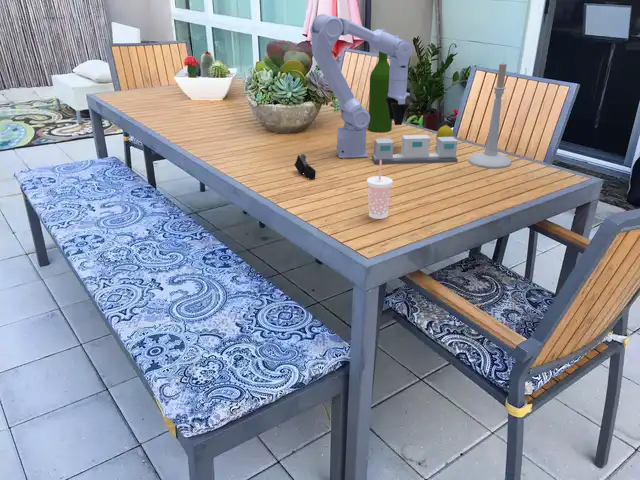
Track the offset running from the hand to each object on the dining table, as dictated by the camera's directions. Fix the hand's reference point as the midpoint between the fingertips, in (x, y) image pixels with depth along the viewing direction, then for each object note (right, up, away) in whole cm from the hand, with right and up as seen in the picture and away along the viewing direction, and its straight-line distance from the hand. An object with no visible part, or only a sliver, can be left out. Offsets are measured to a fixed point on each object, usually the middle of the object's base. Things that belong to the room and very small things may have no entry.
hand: (395, 122), depth 176 cm
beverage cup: (-11, -33, -45) cm, 57 cm away
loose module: (+5, -12, -7) cm, 15 cm away
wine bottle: (-2, +3, +28) cm, 29 cm away
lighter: (-29, -20, -18) cm, 40 cm away
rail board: (+5, -14, -6) cm, 16 cm away
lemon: (+17, -8, +5) cm, 20 cm away
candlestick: (+28, -15, -8) cm, 33 cm away
